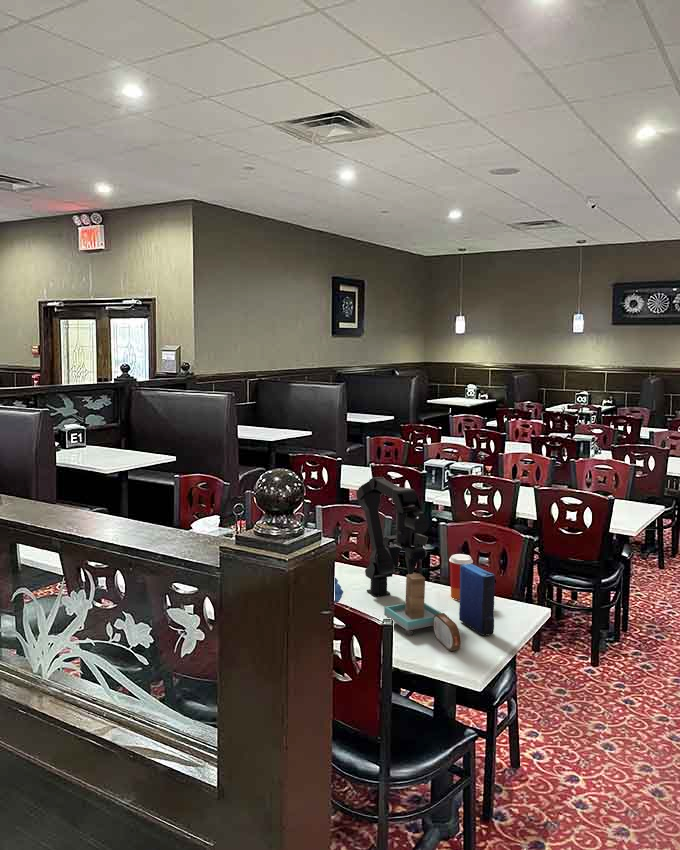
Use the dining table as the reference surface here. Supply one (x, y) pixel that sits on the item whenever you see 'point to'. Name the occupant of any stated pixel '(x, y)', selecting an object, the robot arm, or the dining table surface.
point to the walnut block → (415, 596)
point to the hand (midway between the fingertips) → (403, 571)
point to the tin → (447, 632)
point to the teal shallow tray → (407, 623)
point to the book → (477, 598)
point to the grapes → (338, 591)
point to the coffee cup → (457, 572)
